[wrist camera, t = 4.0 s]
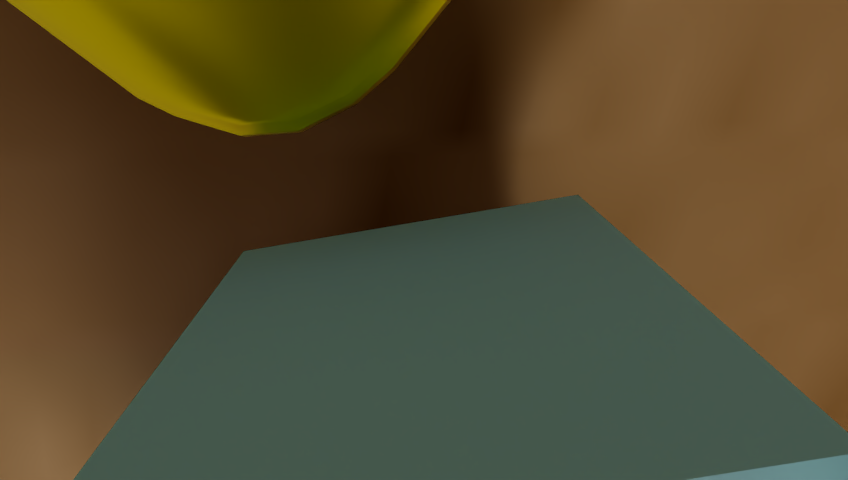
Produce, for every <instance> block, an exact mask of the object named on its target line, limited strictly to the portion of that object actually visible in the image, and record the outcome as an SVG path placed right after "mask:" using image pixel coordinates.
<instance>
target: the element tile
mask: <svg viewBox="0 0 848 480" xmlns="http://www.w3.org/2000/svg"><path fill="white" fill-rule="evenodd" d="M7 1H8V2H9V3H11V4H12V5H13V6H15V7H16V8H17V9H19V10H20V11H21V12H23V13H24V14H25V15H27V16H28V17H29V18H31V19H32V20H33V21H35V22H36V23H37V24H39V25H40V26H41V27H43V28H44V29H45V30H47V31H48V32H49V33H51V34H52V35H53V36H55V37H56V38H58V39H59V40H60V41H62V42H63V43H64V44H66V45H67V46H68V47H70V48H71V49H72V50H74V51H75V52H76V53H78V54H79V55H80V56H82V57H83V58H84V59H86V60H87V61H88V62H90V63H91V64H92V65H94V66H95V67H96V68H98V69H99V70H100V71H102V72H103V73H105V74H106V75H107V76H109V77H110V78H111V79H113V80H114V81H115V82H117V83H118V84H119V85H121V86H122V87H123V88H125V89H126V90H127V91H129V92H130V93H131V94H133V95H134V96H135V97H137V98H138V99H140V100H143V101H145V102H147V103H149V104H151V105H153V106H155V107H157V108H159V109H161V110H163V111H165V112H167V113H169V114H171V115H173V116H176V117H179V118H182V119H186V120H189V121H192V122H196V123H199V124H202V125H206V126H209V127H212V128H216V129H219V130H222V131H226V132H229V133H232V134H236V135H239V136H242V137H247V136H260V135H273V134H286V133H299V132H303V131H305V130H307V129H309V128H311V127H313V126H315V125H317V124H319V123H321V122H323V121H325V120H327V119H329V118H331V117H333V116H334V115H336V114H338V113H340V112H342V111H344V110H346V109H348V108H350V107H352V106H354V105H356V104H357V103H359V102H360V101H361V100H362V99H363V98H364V97H365V96H367V95H368V94H369V93H370V92H371V91H372V90H373V89H374V88H376V87H377V86H378V85H379V84H380V83H381V82H382V81H384V80H385V79H386V78H387V77H388V76H389V75H390V74H391V73H393V72H394V71H395V70H396V68H397V67H398V66H399V65H400V64H401V62H402V61H403V60H404V59H405V57H406V56H407V55H408V54H409V52H410V51H411V50H412V49H413V47H414V46H415V45H416V44H417V42H418V41H419V40H420V39H421V37H422V36H423V35H424V34H425V33H426V31H427V30H428V29H429V28H430V26H431V25H432V24H433V23H434V21H435V20H436V19H437V18H438V16H439V15H440V14H441V13H442V11H443V10H444V9H445V8H446V6H447V5H448V4H449V3H450V2H451V0H7Z"/></svg>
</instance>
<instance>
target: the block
mask: <svg viewBox="0 0 848 480" xmlns="http://www.w3.org/2000/svg"><path fill="white" fill-rule="evenodd" d="M74 480H848V432H846V431H845V430H844V429H843V428H842V427H841V426H840V425H839V424H837V423H836V422H835V421H834V420H833V419H832V418H831V417H829V416H828V415H827V414H826V413H825V412H824V411H823V410H822V409H820V408H819V407H818V406H817V405H816V404H815V403H814V402H812V401H811V400H810V399H809V398H808V397H807V396H806V395H804V394H803V393H802V392H801V391H800V390H799V389H798V388H797V387H795V386H794V385H793V384H792V383H791V382H790V381H789V380H787V379H786V378H785V377H784V376H783V375H782V374H781V373H780V372H778V371H777V370H776V369H775V368H774V367H773V366H772V365H770V364H769V363H768V362H767V361H766V360H765V359H764V358H763V357H761V356H760V355H759V354H758V353H757V352H756V351H755V350H753V349H752V348H751V347H750V346H749V345H748V344H747V343H746V342H744V341H743V340H742V339H741V338H740V337H739V336H738V335H736V334H735V333H734V332H733V331H732V330H731V329H730V328H728V327H727V326H726V325H725V324H724V323H723V322H722V321H721V320H719V319H718V318H717V317H716V316H715V315H714V314H713V313H711V312H710V311H709V310H708V309H707V308H706V307H705V306H704V305H702V304H701V303H700V302H699V301H698V300H697V299H696V298H694V297H693V296H692V295H691V294H690V293H689V292H688V291H687V290H685V289H684V288H683V287H682V286H681V285H680V284H679V283H677V282H676V281H675V280H674V279H673V278H672V277H671V276H670V275H668V274H667V273H666V272H665V271H664V270H663V269H662V268H660V267H659V266H658V265H657V264H656V263H655V262H654V261H652V260H651V259H650V258H649V257H648V256H647V255H646V254H645V253H643V252H642V251H641V250H640V249H639V248H638V247H637V246H635V245H634V244H633V243H632V242H631V241H630V240H629V239H628V238H626V237H625V236H624V235H623V234H622V233H621V232H620V231H618V230H617V229H616V228H615V227H614V226H613V225H612V224H611V223H609V222H608V221H607V220H606V219H605V218H604V217H603V216H601V215H600V214H599V213H598V212H597V211H596V210H595V209H594V208H592V207H591V206H590V205H589V204H588V203H587V202H586V201H584V200H583V199H582V198H581V197H580V196H579V195H574V196H568V197H562V198H556V199H550V200H544V201H538V202H532V203H526V204H520V205H514V206H508V207H502V208H497V209H491V210H485V211H479V212H473V213H467V214H461V215H455V216H449V217H443V218H437V219H431V220H425V221H420V222H414V223H408V224H402V225H396V226H390V227H384V228H378V229H372V230H366V231H360V232H354V233H348V234H342V235H337V236H331V237H325V238H319V239H313V240H307V241H301V242H295V243H289V244H283V245H277V246H271V247H265V248H259V249H254V250H248V251H243V253H242V254H241V255H240V257H239V258H238V260H237V261H236V262H235V264H234V265H233V266H232V268H231V269H230V270H229V272H228V273H227V274H226V276H225V277H224V278H223V280H222V281H221V282H220V284H219V285H218V286H217V288H216V289H215V290H214V292H213V293H212V294H211V296H210V297H209V298H208V300H207V301H206V302H205V304H204V305H203V306H202V308H201V309H200V310H199V312H198V313H197V315H196V316H195V317H194V319H193V320H192V321H191V323H190V324H189V325H188V327H187V328H186V329H185V331H184V332H183V333H182V335H181V336H180V337H179V339H178V340H177V341H176V343H175V344H174V345H173V347H172V348H171V349H170V351H169V352H168V353H167V355H166V356H165V357H164V359H163V360H162V361H161V363H160V364H159V365H158V367H157V368H156V370H155V371H154V372H153V374H152V375H151V376H150V378H149V379H148V380H147V382H146V383H145V384H144V386H143V387H142V388H141V390H140V391H139V392H138V394H137V395H136V396H135V398H134V399H133V400H132V402H131V403H130V404H129V406H128V407H127V408H126V410H125V411H124V412H123V414H122V415H121V416H120V418H119V419H118V421H117V422H116V423H115V425H114V426H113V427H112V429H111V430H110V431H109V433H108V434H107V435H106V437H105V438H104V439H103V441H102V442H101V443H100V445H99V446H98V447H97V449H96V450H95V451H94V453H93V454H92V455H91V457H90V458H89V459H88V461H87V462H86V463H85V465H84V466H83V467H82V469H81V470H80V471H79V473H78V474H77V476H76V477H75V478H74Z"/></svg>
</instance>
